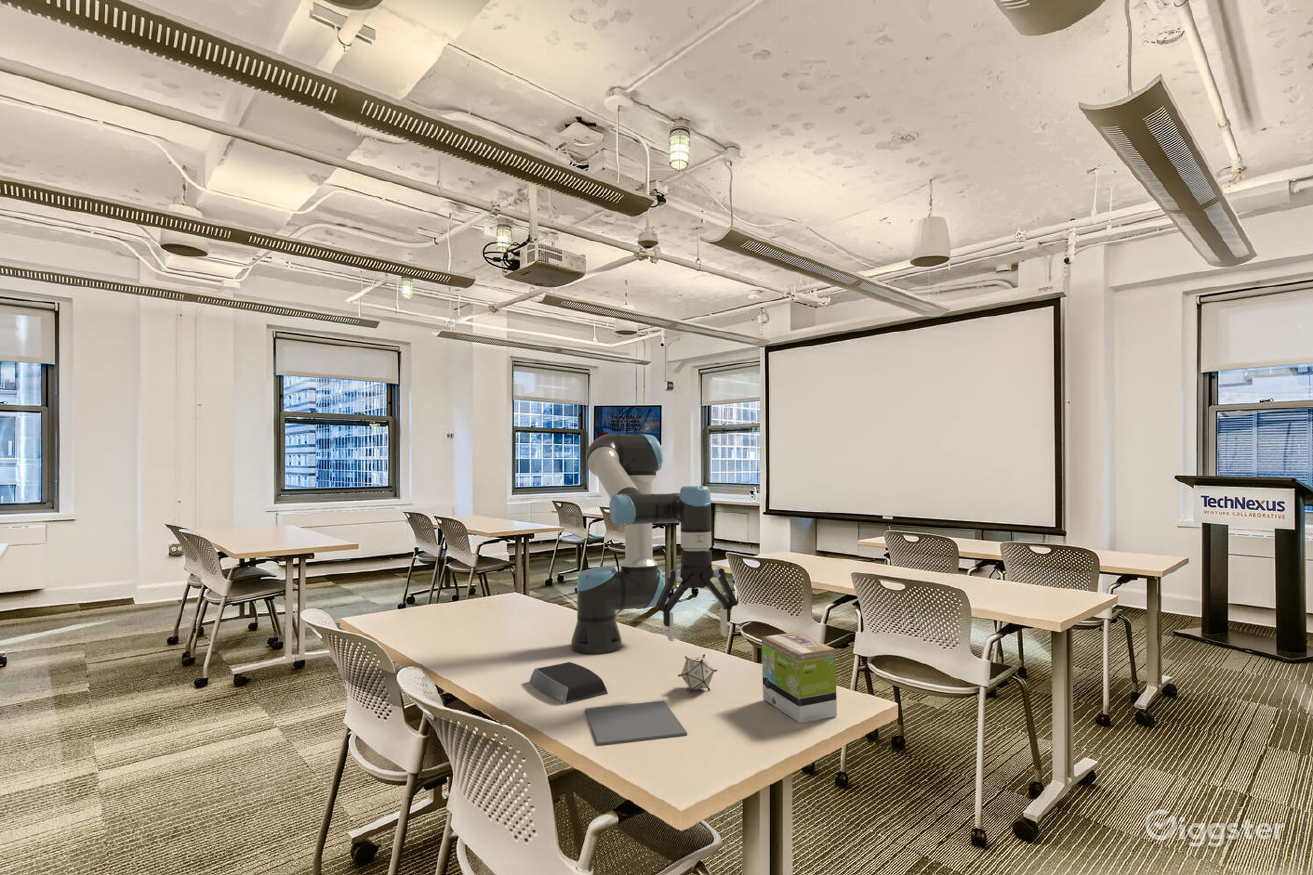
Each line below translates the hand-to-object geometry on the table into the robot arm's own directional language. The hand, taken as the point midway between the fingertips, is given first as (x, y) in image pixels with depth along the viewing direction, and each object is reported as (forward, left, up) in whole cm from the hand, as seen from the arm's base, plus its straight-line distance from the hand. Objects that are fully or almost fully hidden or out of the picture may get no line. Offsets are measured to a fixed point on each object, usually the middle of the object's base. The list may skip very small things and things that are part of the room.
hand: (697, 637), depth 149 cm
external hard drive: (-10, -30, -13) cm, 35 cm away
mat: (+15, -19, -12) cm, 27 cm away
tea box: (+17, +18, -13) cm, 28 cm away
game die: (0, 0, -13) cm, 13 cm away
